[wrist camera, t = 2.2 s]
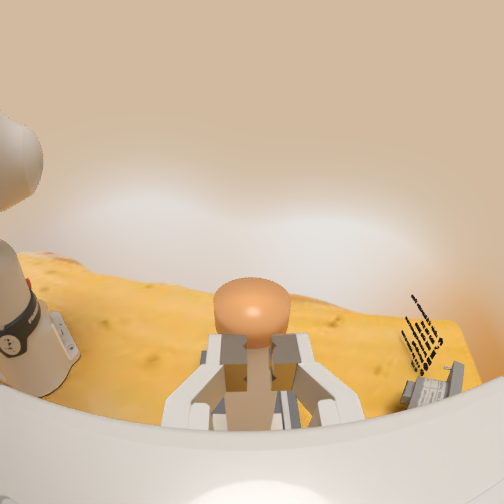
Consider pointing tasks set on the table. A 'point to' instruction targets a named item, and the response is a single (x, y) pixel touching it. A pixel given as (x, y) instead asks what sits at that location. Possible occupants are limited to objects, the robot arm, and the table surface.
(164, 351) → the table surface
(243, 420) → the slider handle
